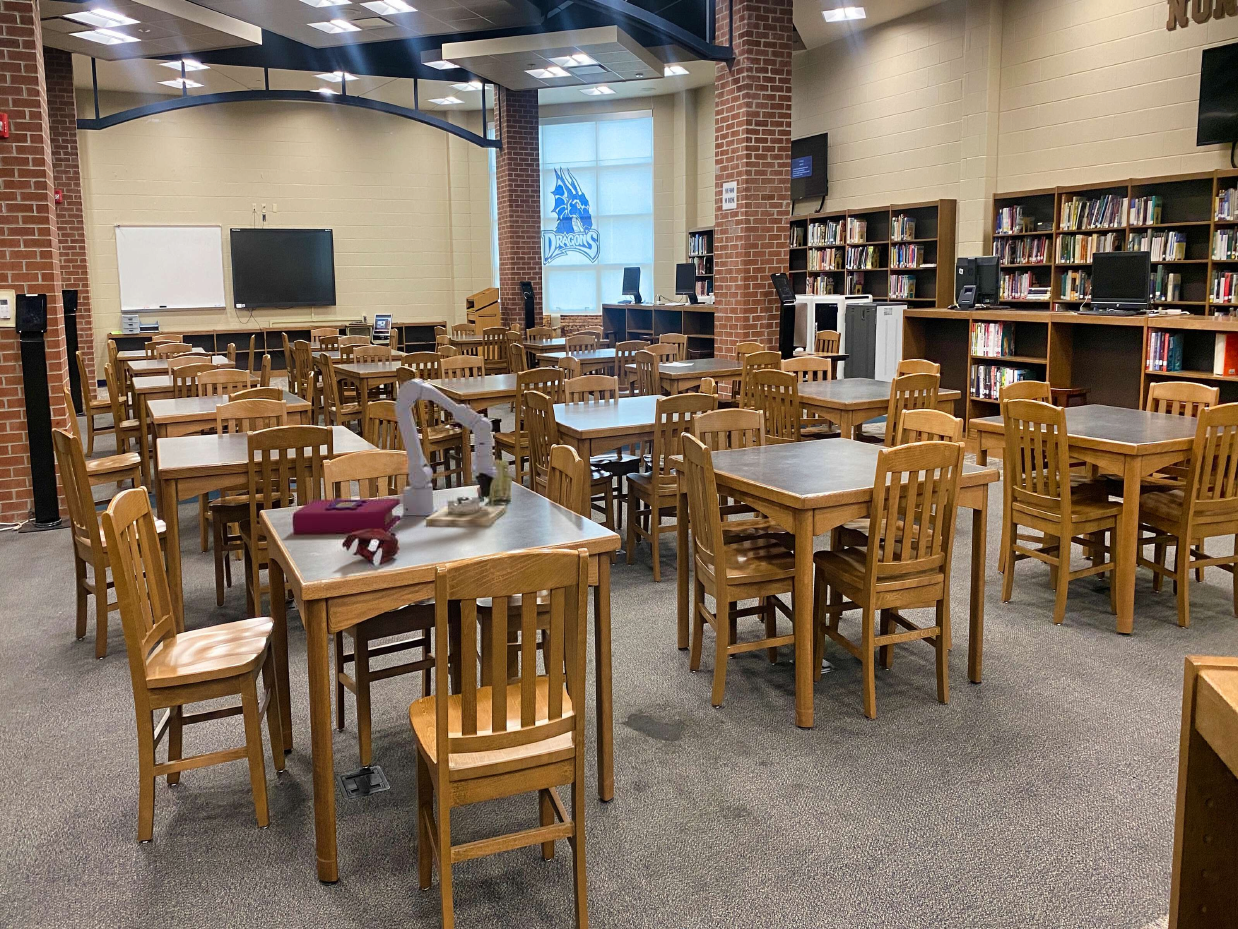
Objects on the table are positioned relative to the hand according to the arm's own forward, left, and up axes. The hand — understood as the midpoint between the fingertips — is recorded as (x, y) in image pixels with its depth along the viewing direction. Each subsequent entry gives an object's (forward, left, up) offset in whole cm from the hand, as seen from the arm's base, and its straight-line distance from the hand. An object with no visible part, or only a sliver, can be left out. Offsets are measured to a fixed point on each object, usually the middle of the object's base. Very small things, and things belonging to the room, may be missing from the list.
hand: (485, 496), depth 319 cm
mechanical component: (-1, +19, -6) cm, 20 cm away
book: (-38, -23, -6) cm, 44 cm away
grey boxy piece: (-4, -6, -3) cm, 8 cm away
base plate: (-4, -9, -6) cm, 11 cm away
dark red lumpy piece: (-14, -61, -6) cm, 63 cm away
